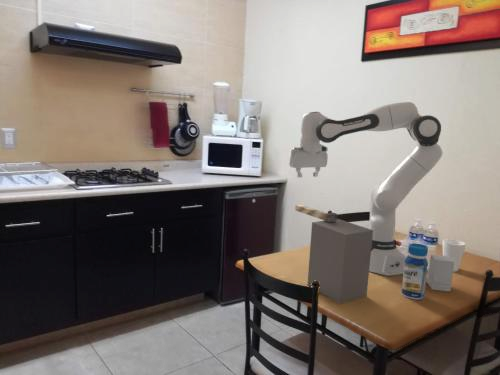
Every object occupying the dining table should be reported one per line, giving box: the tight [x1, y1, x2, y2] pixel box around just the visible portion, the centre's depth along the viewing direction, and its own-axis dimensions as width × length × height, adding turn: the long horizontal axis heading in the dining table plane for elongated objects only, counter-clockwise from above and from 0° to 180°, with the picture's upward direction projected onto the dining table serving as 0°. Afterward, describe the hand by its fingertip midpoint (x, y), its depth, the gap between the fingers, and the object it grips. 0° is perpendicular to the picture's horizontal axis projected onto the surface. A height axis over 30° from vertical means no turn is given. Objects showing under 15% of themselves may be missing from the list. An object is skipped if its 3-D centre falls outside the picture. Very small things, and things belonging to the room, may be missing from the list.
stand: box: [307, 218, 373, 305], centre depth 151 cm, size 18×14×26 cm
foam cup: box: [441, 238, 467, 272], centre depth 181 cm, size 10×9×13 cm
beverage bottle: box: [400, 243, 429, 300], centre depth 150 cm, size 8×8×20 cm
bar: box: [294, 204, 338, 223], centre depth 161 cm, size 22×4×3 cm, turn 32°
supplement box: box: [426, 254, 454, 292], centre depth 160 cm, size 7×7×13 cm
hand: (307, 176), depth 183 cm, fingers open, 8 cm apart
